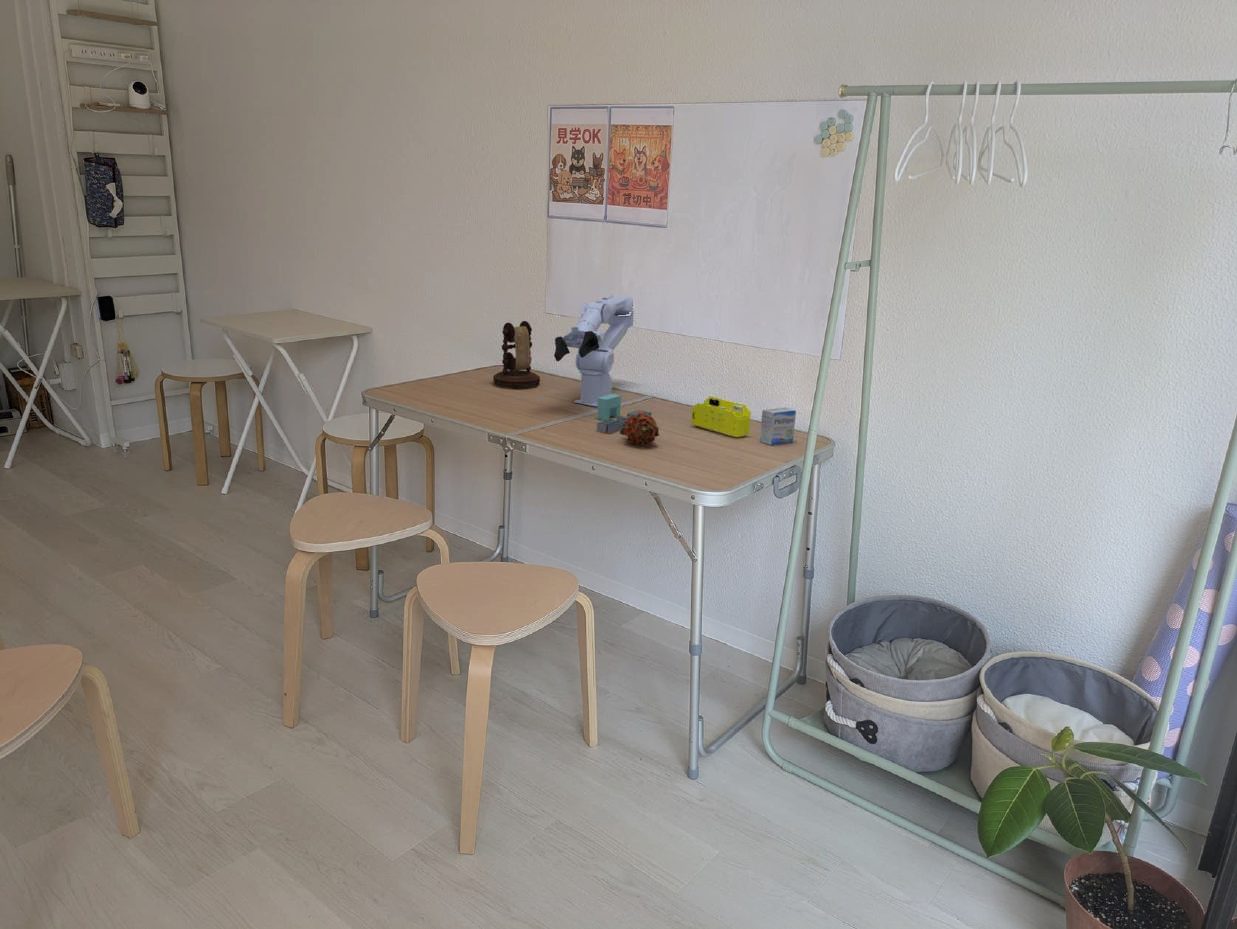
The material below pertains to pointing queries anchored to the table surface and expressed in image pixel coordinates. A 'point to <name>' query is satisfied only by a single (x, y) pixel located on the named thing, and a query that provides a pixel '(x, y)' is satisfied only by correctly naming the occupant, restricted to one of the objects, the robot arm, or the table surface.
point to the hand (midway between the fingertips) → (568, 356)
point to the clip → (609, 406)
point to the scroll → (517, 357)
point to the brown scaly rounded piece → (640, 429)
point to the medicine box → (777, 426)
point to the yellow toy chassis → (722, 416)
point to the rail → (617, 422)
